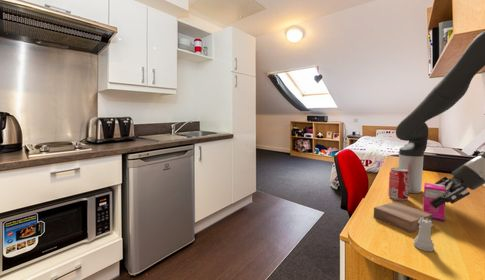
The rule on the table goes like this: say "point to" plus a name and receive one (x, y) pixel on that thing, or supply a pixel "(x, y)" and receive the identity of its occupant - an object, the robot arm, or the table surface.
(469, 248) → the table surface
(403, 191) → the soda can
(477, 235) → the table surface
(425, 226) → the rook chess piece
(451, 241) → the table surface
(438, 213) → the supplement box
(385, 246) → the table surface
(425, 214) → the walnut block
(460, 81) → the robot arm
